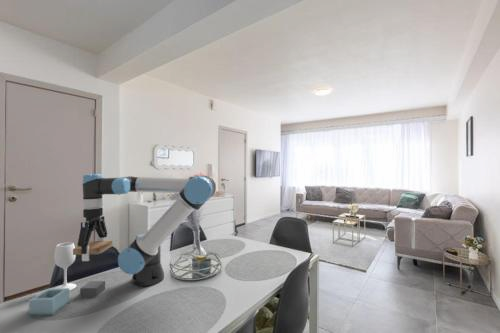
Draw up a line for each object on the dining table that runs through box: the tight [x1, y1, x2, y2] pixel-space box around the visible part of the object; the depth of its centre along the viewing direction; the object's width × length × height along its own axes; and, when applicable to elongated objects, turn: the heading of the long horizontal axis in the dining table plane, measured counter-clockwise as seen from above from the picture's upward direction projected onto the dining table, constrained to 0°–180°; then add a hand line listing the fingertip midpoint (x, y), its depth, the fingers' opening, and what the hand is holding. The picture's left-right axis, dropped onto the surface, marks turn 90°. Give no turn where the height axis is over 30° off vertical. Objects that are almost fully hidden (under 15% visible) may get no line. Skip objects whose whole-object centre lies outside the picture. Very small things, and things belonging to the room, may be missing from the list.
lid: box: [73, 240, 113, 256], centre depth 113 cm, size 11×11×2 cm
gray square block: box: [79, 280, 106, 298], centre depth 113 cm, size 7×7×4 cm
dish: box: [28, 288, 70, 316], centre depth 100 cm, size 9×9×6 cm
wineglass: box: [53, 241, 77, 292], centre depth 117 cm, size 9×9×21 cm
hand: (93, 256), depth 113 cm, fingers closed on lid, 11 cm apart
